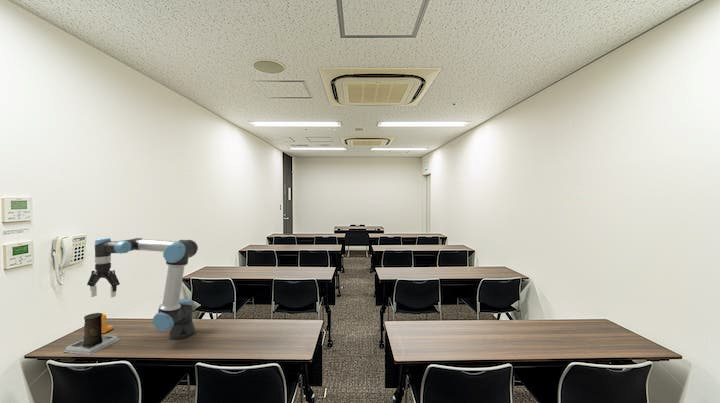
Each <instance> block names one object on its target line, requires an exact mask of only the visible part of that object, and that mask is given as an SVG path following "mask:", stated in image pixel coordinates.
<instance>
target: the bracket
mask: <svg viewBox="0 0 720 403" xmlns="http://www.w3.org/2000/svg"><path fill="white" fill-rule="evenodd" d="M101 320H102V326H101V333H102V334H105V333H107V332H108V331H109V332H110V331H111V330H112V329H113V327H114V325H107V324H106V323H107V322H106V320H107V315H106V314H104V313H102V318H101Z"/></svg>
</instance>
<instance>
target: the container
mask: <svg viewBox="0 0 720 403" xmlns="http://www.w3.org/2000/svg"><path fill="white" fill-rule="evenodd" d="M102 314H103V313H101V312H93V313H90V314H86V315H84V317H83V320H84V324H83V326H84V327H83V331H84V332H83V339H84V341H83V345H82V346H83V347H86V348H90V347H93V346H95V345H97V344H100V343H102V342H103V341H102V335H103V333H101V326H102V320H101V318H102Z"/></svg>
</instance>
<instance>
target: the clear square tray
mask: <svg viewBox="0 0 720 403" xmlns="http://www.w3.org/2000/svg"><path fill="white" fill-rule="evenodd" d="M83 341H84V338H83V339H81V340H79V341H77V342H75V343H72V344H69V345H67V346H66V347H65V350H63V351H62V353H63V352H70V353H69V354H72V353H76V354H75V355H85V356H87V355H88V356H90V355H93V354H95V353H97V352H98V351H101V350H103V349H105V348H107V347H109V346H110V345H113V344H115V343H117V342H119V341H120V338H118V336H117V335H110V334H109V335H108V334H107V335H106V334H102V341H103V342H102V343H100V344H97V345H95V346H93V347H90V348H86V347H83V346H82V345H83Z"/></svg>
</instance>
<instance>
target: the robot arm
mask: <svg viewBox="0 0 720 403" xmlns="http://www.w3.org/2000/svg"><path fill="white" fill-rule="evenodd" d="M198 250H199V247H198V243H196V241H194V240H192V239H180V240H167V239H166V240H164V239H145V238H142V237H136V238H129V239H125V240H117V241H116V240H115V241H114V240H113V241H112V240H111V237H102V238H101V237H100V238H96V239H95V241H94V263H95V264H94V269H95V270H91V274H90V277H89V279H88V281H87V284H86V285H87V286H89V287H90V289H89V290H90V296H91V298H93V297H96V296H97V295H98V294H97V293H98V292H97V291H98V290H97V283H98V282H99V280H100V279H101V278H102V279H104V280H107V282H108V284H110V298H114V297H116V296H117V286H119V285H121V283H120V281H119V279H118V277H117V274H116V271H115V269H112V270H111V268H112V263H111V261H112V254H120V255H121V254H127V253H129V252H132V251H143V252H144V251H147V252H160V253H161V252H162V257H163V258H164V261H165V264H166V266H168V267H167V273H166V280H165V286H164V291H163V299H162V303H161V304H160V305H159V306H158V311H157V313H155V315H154V316H153V318H152V324H153V326H154V327H155V329H157V330H159V331H163V332H165V331H168V330H169V333H168V338H169V339H171V340H174V341H176V340H183V339H188V338H189V337H192V336H194V335H195V334H196V327H195V324H194V321H193V319H194V318H193V312H194V311H193V310H194V309H193V308H194V306H193V305H194V304H193V300H192V299H190V298H189V299H188V298H183V299H182V298H181V299H180V297H181V291H182V283H183V277H184V272H185V271H184V270H185V266H187V265H188V264H189V258H192V257H194V256H195V255H196V254H197V252H198Z"/></svg>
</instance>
